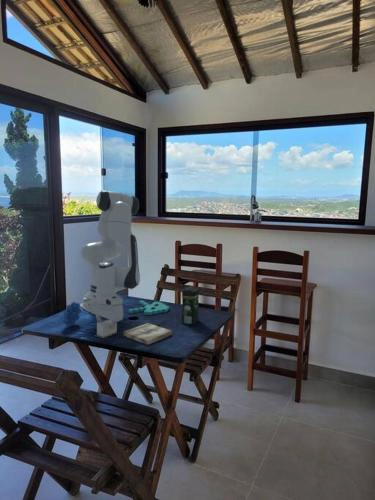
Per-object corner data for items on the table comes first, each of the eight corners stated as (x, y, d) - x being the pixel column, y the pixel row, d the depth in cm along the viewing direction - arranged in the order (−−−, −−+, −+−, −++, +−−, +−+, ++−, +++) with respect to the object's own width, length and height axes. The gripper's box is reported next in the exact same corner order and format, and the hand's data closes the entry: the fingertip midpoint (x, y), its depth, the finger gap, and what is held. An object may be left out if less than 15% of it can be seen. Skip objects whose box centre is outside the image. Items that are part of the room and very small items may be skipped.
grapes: (74, 320, 186) (73, 298, 184) (84, 322, 183) (83, 300, 181) (57, 327, 176) (56, 303, 174) (67, 330, 173) (66, 305, 171)
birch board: (123, 335, 167) (123, 331, 167) (147, 326, 179) (147, 322, 179) (147, 344, 157) (147, 340, 157) (171, 334, 169) (171, 330, 169)
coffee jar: (186, 318, 194) (187, 284, 191) (200, 320, 191) (201, 286, 188) (178, 323, 185) (179, 288, 183) (192, 326, 182) (193, 290, 179)
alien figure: (128, 313, 200) (163, 316, 196) (128, 310, 200) (163, 313, 196) (140, 304, 220) (171, 306, 216) (140, 300, 219) (172, 303, 216)
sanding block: (97, 335, 167) (96, 323, 166) (110, 331, 173) (110, 319, 172) (103, 338, 164) (103, 325, 163) (116, 333, 170) (116, 321, 169)
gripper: (86, 294, 170) (87, 322, 172) (114, 303, 157) (114, 333, 159) (97, 292, 175) (97, 319, 176) (125, 300, 162) (125, 329, 164)
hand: (106, 326), depth 168 cm, fingers open, 8 cm apart
